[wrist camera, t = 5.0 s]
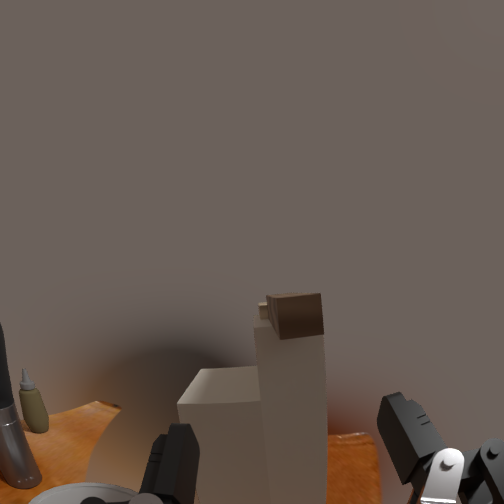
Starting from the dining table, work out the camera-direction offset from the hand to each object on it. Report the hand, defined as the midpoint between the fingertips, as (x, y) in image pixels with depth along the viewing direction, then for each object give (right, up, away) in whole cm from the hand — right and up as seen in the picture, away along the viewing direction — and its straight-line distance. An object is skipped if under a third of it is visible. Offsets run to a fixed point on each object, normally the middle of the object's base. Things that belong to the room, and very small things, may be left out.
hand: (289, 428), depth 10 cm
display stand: (+2, -33, +21) cm, 39 cm away
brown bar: (+2, -1, +22) cm, 23 cm away
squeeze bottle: (-59, -41, +38) cm, 81 cm away
